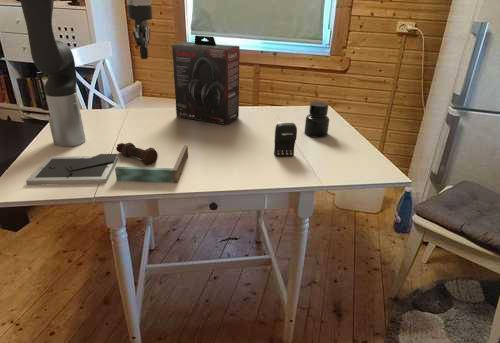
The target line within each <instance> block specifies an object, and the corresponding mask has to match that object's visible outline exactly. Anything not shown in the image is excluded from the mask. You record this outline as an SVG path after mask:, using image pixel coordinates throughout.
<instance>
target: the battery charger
mask: <svg viewBox="0 0 500 343" xmlns="http://www.w3.org/2000/svg"><path fill="white" fill-rule="evenodd" d="M297 137H298V128H297V125H296V123H294V122H292V121H291V122H290V121H289V122H287V121H286V122H285V121H281V122H277V124H275V128H274V145H273V146H274V150H273V154H274V156H275V157H277V158H291V157H292V158H293V157H294V155H295V145H296V140H297Z"/></svg>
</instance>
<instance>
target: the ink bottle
mask: <svg viewBox="0 0 500 343" xmlns="http://www.w3.org/2000/svg"><path fill="white" fill-rule="evenodd" d="M328 111H329V104H328V103H327V102H324V101H311V102H310V104H309V114H307V116H306V117H305V124H304V134H305V135H306V136H308V137H311V138H324V137H327V136H328V133H329V125H330V118H329V116H328Z"/></svg>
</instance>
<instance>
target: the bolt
mask: <svg viewBox="0 0 500 343" xmlns="http://www.w3.org/2000/svg"><path fill="white" fill-rule="evenodd" d="M115 149H116V152H118V153H119V154H122V155H123V157H125V158H136V159H139V160H141V161H142V162H143V164H144V165H145V166H153V165H154V164H155V163H156V162H157V160H158V157H159V155H158V152H157V150H156V149H155V148H154V147H151V146H150V147H148V148H146V149H143V148H140V147H136V145H135V144H134V143H133V142H126V143H123V142H121V143H118V144H116V147H115Z"/></svg>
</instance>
